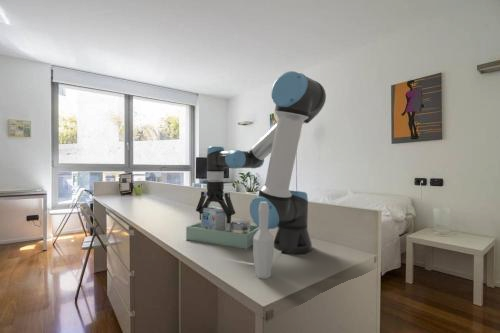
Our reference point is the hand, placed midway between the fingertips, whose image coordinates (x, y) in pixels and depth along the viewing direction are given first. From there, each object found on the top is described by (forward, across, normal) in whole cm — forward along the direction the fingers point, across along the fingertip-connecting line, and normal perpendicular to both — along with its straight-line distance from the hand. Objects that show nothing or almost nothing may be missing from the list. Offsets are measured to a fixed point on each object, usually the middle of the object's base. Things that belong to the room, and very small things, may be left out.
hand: (214, 228), depth 115 cm
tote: (+4, -5, 0) cm, 7 cm away
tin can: (+4, -13, 0) cm, 14 cm away
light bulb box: (+2, 0, 0) cm, 2 cm away
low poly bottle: (+4, -34, +26) cm, 43 cm away
